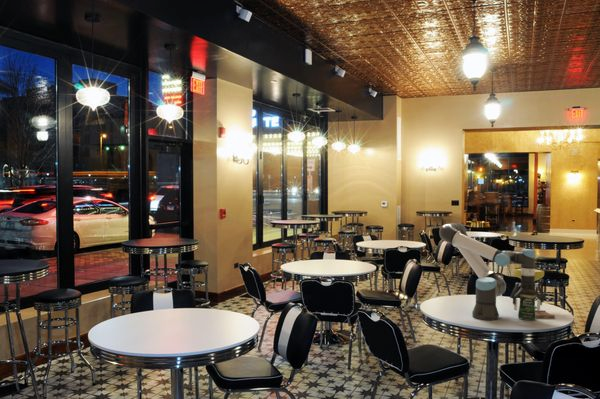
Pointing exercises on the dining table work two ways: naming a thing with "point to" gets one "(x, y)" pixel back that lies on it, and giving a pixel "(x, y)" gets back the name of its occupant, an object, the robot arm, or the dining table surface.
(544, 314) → the walnut board
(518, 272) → the cocktail glass
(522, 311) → the coffee jar
